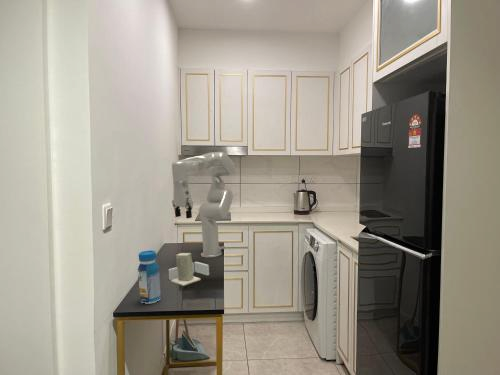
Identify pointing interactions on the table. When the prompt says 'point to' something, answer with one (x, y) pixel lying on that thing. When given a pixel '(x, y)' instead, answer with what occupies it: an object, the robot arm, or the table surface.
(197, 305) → the table surface
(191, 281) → the tile
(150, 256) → the beverage bottle
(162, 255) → the table surface
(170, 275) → the wall long
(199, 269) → the wall short
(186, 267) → the skincare box
